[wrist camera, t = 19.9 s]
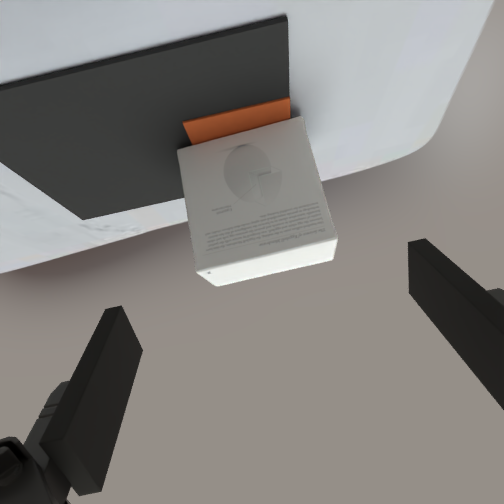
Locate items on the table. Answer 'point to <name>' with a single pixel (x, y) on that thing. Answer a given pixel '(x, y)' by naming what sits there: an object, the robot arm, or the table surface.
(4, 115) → the corner mat
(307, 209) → the cosmetics box
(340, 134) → the table surface
